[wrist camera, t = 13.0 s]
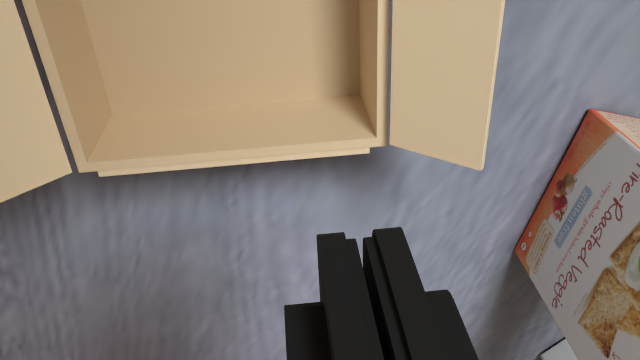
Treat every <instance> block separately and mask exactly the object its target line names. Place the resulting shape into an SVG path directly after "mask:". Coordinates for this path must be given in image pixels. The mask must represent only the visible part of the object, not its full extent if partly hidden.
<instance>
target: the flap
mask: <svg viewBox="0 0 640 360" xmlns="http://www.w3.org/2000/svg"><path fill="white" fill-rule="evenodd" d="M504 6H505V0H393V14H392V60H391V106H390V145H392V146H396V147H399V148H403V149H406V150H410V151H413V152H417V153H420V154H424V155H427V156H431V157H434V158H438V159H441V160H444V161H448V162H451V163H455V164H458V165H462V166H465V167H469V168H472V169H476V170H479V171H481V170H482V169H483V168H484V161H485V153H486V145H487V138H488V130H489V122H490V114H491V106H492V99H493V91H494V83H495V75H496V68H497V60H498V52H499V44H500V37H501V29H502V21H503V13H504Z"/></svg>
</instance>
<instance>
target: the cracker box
mask: <svg viewBox="0 0 640 360" xmlns="http://www.w3.org/2000/svg"><path fill="white" fill-rule="evenodd" d="M515 253H516V254H517V256H518V258H519V260H520V261H521V263H522V265H523V267H524V268H525V270H526V272H527V273H528V275H529V277H530V279H531V280H532V282H533V284H534V285H535V287H536V289H537V291H538V292H539V294H540V296H541V297H542V299H543V301H544V302H545V304H546V306H547V307H548V309H549V311H550V313H551V314H552V316H553V318H554V320H555V321H556V323H557V325H558V326H559V328H560V330H561V331H562V333H563V335H564V337H565V338H566V340H567V342H568V343H569V345H570V347H571V349H572V350H573V352H574V354H575V355H576V357H577V359H578V360H640V118H635V117H629V116H624V115H619V114H615V113H610V112H605V111H599V110H595V109H589V110H588V113H587V115H586V116H585V118H584V121H583V122H582V124H581V126H580V128H579V130H578V132H577V134H576V136H575V138H574V139H573V141H572V143H571V145H570V147H569V149H568V151H567V153H566V155H565V156H564V158H563V160H562V162H561V164H560V166H559V168H558V170H557V171H556V173H555V175H554V177H553V179H552V181H551V182H550V185H549V186H548V188H547V190H546V192H545V194H544V196H543V198H542V200H541V201H540V203H539V205H538V207H537V209H536V211H535V213H534V214H533V216H532V218H531V220H530V222H529V224H528V226H527V228H526V230H525V231H524V233H523V235H522V237H521V239H520V241H519V242H518V245H517V246H516V248H515Z"/></svg>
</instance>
